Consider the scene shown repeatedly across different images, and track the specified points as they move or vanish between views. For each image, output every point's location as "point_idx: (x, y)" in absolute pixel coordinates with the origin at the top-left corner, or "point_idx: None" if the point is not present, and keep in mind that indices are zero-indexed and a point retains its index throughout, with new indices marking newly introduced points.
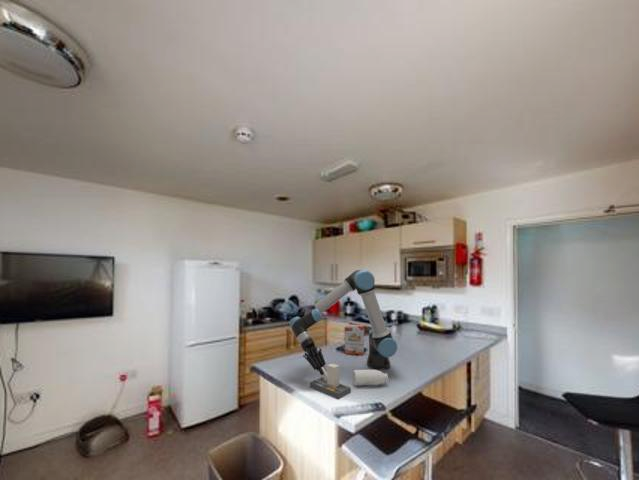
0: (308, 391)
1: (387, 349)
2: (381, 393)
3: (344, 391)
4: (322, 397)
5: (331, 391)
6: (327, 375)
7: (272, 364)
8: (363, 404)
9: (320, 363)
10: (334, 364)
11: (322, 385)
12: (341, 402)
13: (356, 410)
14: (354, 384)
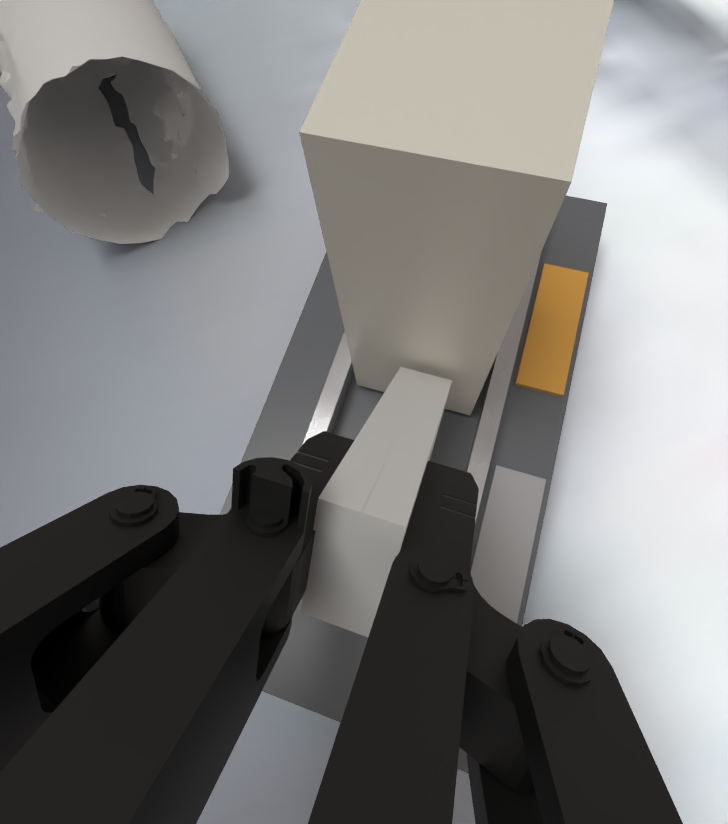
0: (625, 688)
1: None
2: (271, 7)
3: None
4: (660, 412)
5: (586, 302)
6: (500, 339)
7: None
8: None
9: (251, 645)
10: (363, 40)
11: (509, 480)
12: (631, 196)
13: (681, 54)
14: (158, 236)
